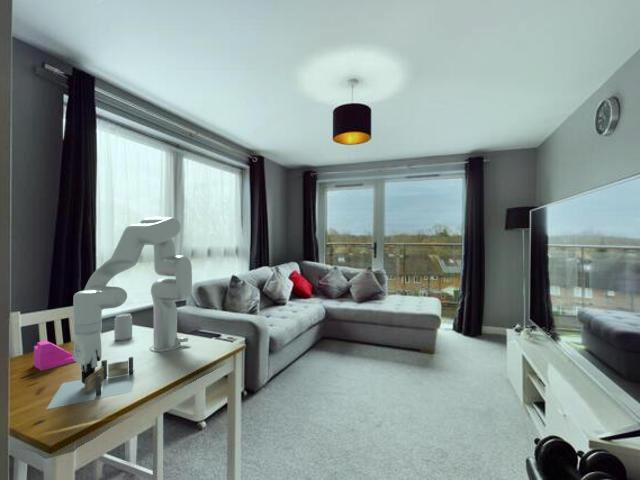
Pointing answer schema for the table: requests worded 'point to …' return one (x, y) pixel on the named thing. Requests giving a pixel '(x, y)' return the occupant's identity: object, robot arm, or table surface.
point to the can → (123, 326)
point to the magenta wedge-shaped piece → (50, 356)
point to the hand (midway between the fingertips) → (88, 381)
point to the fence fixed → (114, 371)
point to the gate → (93, 379)
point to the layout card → (76, 393)
